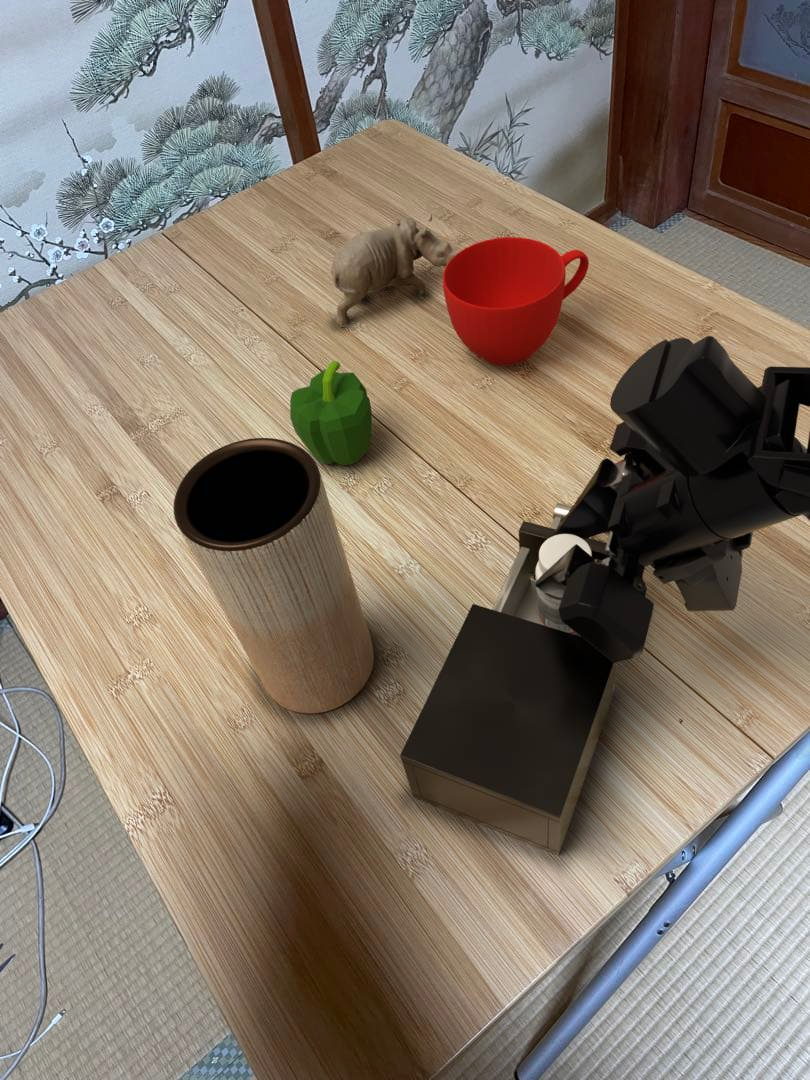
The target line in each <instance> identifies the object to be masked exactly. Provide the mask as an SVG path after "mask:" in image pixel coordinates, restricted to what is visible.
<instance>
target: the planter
mask: <svg viewBox="0 0 810 1080" xmlns="http://www.w3.org/2000/svg"><path fill="white" fill-rule="evenodd" d="M330 503H331V502H330V501H329V497H328V493H327V491H326V487H325V484H324V481H323V478H322V474H321V471H320V469H319V466H318V464H317V463H316V461H315V459H314V458H313V457H312V456H311V454H309V452H307V451H306V450H305V449H303V448H302V447H301V446H299V445H297V444H295V443H293V442H290V441H287V440H284V439H280V438H273V437H255V438H247V439H242V440H238V441H234V442H231V443H229V444H226V445H224V446H221V447H218V448H216V449H215V450H213V451H211V452H210V453H208V454H206V455H205V456H204V457H203V458H201V459H200V460H198V461H197V462H196V463H195V464H194V465H193V466H192V467H191V468H190V469H189V470H188V471H187V472H186V474H185V475H184V477H183V478H182V479H181V481H180V483H179V485H178V487H177V489H176V492H175V495H174V498H173V506H172V507H173V508H172V509H173V517H174V521H175V523H176V526H177V528H178V530H179V532H180V534H181V536H182V537H183V539H184V542H185V544H186V545H187V547H188V548H189V551H190V552H191V555H192V556H193V558H194V560H195V562H196V563H197V566H198V567H199V569H200V571H201V573H202V575H203V576H204V578H205V580H206V582H207V584H208V586H209V588H210V589H211V591H212V593H213V595H214V597H215V599H216V601H217V602H218V604H219V606H220V608H221V610H222V611H223V613H224V615H225V617H226V619H227V621H228V623H229V625H230V626H231V628H232V630H233V632H234V634H235V635H236V638H237V640H238V641H239V643H240V645H241V646H242V649H243V651H244V652H245V654H246V656H247V658H248V660H249V662H250V664H251V665H252V667H253V670H254V671H255V673H256V675H257V677H258V678H259V680H260V682H261V684H262V685H263V687H264V689H265V690H266V691H267V693H268V695H269V696H270V697H271V698H272V699H273V700H274V701H275V702H276V703H277V704H279V705H280V706H281V707H283V708H285V709H287V710H289V711H292V712H295V713H301V714H319V713H324V712H328V711H329V712H330V711H331V710H335V709H337V708H340V707H341V706H343V705H345V704H346V703H348V702H349V701H351V700H352V699H353V698H355V697H356V695H358V693H360V692H361V690H362V689H363V688H364V686H365V685H366V683H367V682H368V680H369V678H370V676H371V673H372V670H373V667H374V661H375V660H374V659H375V658H374V657H375V655H374V646H373V642H372V637H371V634H370V631H369V627H368V625H367V624H368V623H367V621H366V617H365V615H364V611H363V608H362V605H361V602H360V598H359V595H358V592H357V588H356V585H355V582H354V578H353V576H352V575H353V574H352V572H351V569H350V565H349V562H348V559H347V556H346V552H345V549H344V546H343V542H342V540H341V539H342V538H341V536H340V533H339V530H338V526H337V523H336V520H335V517H334V516H335V515H334V513H333V510H332V507H331V504H330Z"/></svg>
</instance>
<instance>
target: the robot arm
mask: <svg viewBox="0 0 810 1080" xmlns="http://www.w3.org/2000/svg"><path fill="white" fill-rule="evenodd" d="M609 403H610V404H609V406H610V409H611V411H612V412H613V413H615V415H616V416H617V417H619V418H620V420H622V422H620V423H618V424H617V425H616V427H615V430H614V433H613V436H612V440H611V443H610V446H609V450H611V451H612V452H613V453H614V454H615V455H617V456H618V457H623V456H624V457H623V459H622V460H619V461H617V462H614V461H612V460H611V459H610V458H608V457H607V458H604V459H603V458H602V460H601V461H600V462H599V465H598V467H597V469H596V470H595V472H594V473H593V475H592V477H591V478H590V479H589V481H588V482H587V484H586V486H585V487H584V489H583V491H581V493H580V494H579V496H578V497H577V499H576V501H575V502H574V503H573V505H571V506H572V508H571V509H570V510H569V512H568V513H567V515H566V516H565V517H564V519H563V520H562V522H561V523H560V525H559V526H558V527H557V529H556V530H555V532H554V533H553V535H552V537H553V536H555V535H559V534H571V535H575V536H578V537H580V538H582V539H583V540H584V539H587V538H593V537H596V536H598V535H602V534H604V533H605V532H608V531H610V534H609V535H608V537H607V541H606V543H607V544H606V548H605V550H606V552H607V554H609V555H610V556H611V557H612V558H611V557H608V558H606V559H603V560H602V561H601V560H600V559H594V558H593V557H591V556H590V555H589V554H588V553H587V552H586V551H584V550H583V549H582V548H581V547H580V546H579V545H577V544H576V545H574V546H573V547H572V548H571V549H570V550H569V551H568V552H566V553H565V554H564V555H563V556H562V557H561V558H560V559H559V560H558V561H557V562H556V563H555V564H553V565H552V566H551V567H550V568H549V569H548V570H547V571H546V572H545V573H544V574H543V575H542V576H541V577H540V578H539V579H538V580H537V581H536V580H535V582H536V584H535V585H536V587H537V588H539V589H540V590H541V591H542V592H544V593H550V594H558V595H563V596H562V600H561V603H560V606H559V609H558V610H559V613H560V617H561V620H562V622H563V623H565V624H566V625H567V626H568V627H570V628H571V629H572V630H573V631H575V632H576V633H577V634H578V635H580V636H581V637H582V638H583V639H585V640H586V641H587V642H588V643H590V644H591V645H592V646H593V647H595V648H596V649H597V650H598V651H600V652H601V653H602V654H603V655H605V656H606V657H607V658H608V659H610V660H611V661H612V662H613V663H617V664H618V663H620V662H624V661H628V660H633V659H636V658H639V657H642V656H643V655H644V652H645V647H646V643H647V640H648V634H649V630H650V627H651V623H652V617H653V613H654V608H655V603H654V602H653V601H652V600H650V599H649V598H648V597H647V596H646V595H647V590H648V589H647V584H646V582H645V580H644V578H643V576H644V572H645V570H646V569H645V568H646V567H649V566H650V567H651V568H652V569H653V573H652V574H653V576H654V577H655V578H656V579H657V580H658V581H660V582H661V583H662V584H663V585H666V584H670V583H672V582H674V583H675V584H676V587H677V588H678V591H679V593H680V594H681V597H682V598H683V600H684V607H685V609H686V610H687V611H688V612H689V613H690V612H724V611H725V612H727V611H731V612H732V611H734V610H735V609H736V608H737V602H738V598H739V597H738V596H739V590H740V585H741V579H742V573H743V563H742V562H743V555H744V550H747V549H748V548H750V547H751V545H752V541H753V536H754V535H753V534H754V532H756V531H759V530H762V529H765V528H768V527H771V526H774V525H776V524H780V523H782V522H785V521H788V520H791V519H794V518H797V517H800V516H803V517H805V518H806V519H807V520H808V521H809V522H810V430H809V432H808V440H807V447H806V446H805V445H804V444H803V443H802V442H801V441H800V440H799V439H798V437H796V431H797V424H798V417H799V411H800V410H799V409H800V405H802V406H805V407H808V408H810V367H806V366H772V365H771V366H768V367H766V368H765V369H764V372H763V377H762V382H761V385H760V386H758V387H757V386H756V384H754V383H753V382H752V381H751V380H750V378H749V377H747V376H746V374H745V373H744V372H743V371H742V370H741V369H740V368H739V367H738V366H737V365H736V364H735V363H734V362H733V360H732V359H731V358H730V355H729V353H728V352H727V350H726V349H725V348H724V346H723V345H722V344H721V343H720V342H719V341H718V340H717V339H716V338H715V337H714V336H713V335H707V336H705V337H703V338H701V339H700V340H697V341H696V342H695V343H693V342H692V340H691V339H689V338H687V337H677V338H674V339H671V340H668V339H663V340H661V341H660V342H658V343H656V344H655V345H653V346H652V347H651V348H648V349H647V350H646V351H645V352H644V353H643V354H642V355H641V356H639V357H638V358H637V359H636V360H635V361H634V362H633V363H632V364H631V365H630V366H629V368H627V369H626V371H625V372H624V373H623V374H622V376H621V377H620V379H619V380H618V382H617V383H616V385H615V387H614V389H613V391H612V393H611V396H610V401H609Z"/></svg>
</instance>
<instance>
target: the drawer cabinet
mask: <svg viewBox="0 0 810 1080" xmlns="http://www.w3.org/2000/svg"><path fill="white" fill-rule="evenodd" d="M492 609H493V608H492ZM492 609H491V608H488V607H486V606H481V605H479V604H475V603H472V604H471V606H470V608H469V610H468V612H467V615H466V617H465V619H464V621H463V623H462V626H461V627H460V629H459V631H458V633H457V635H456V638H455V640H454V642H453V644H452V645H451V648H450V650H449V652H448V654H447V657H446V659H445V661H444V663H443V664H442V667H441V669H440V671H439V673H438V675H437V677H436V679H435V681H434V684H433V686H432V687H431V690H430V692H429V694H428V696H427V699H426V700H425V703H424V704H423V707H422V709H421V710H420V713H419V715H418V717H417V719H416V721H415V723H414V725H413V728H412V729H411V732H410V734H409V736H408V738H407V740H406V742H405V744H404V747H403V748H402V751H401V753H400V755H399V757H400V760H401V763H402V766H403V769H404V773H405V775H406V779H407V781H408V785H409V789H410V790H411V791H410V792H411V794H412V797H413V798H415V799H417V800H419V801H422V802H424V803H426V804H429V805H432V806H435V807H436V808H439V809H442V810H444V811H446V812H449V813H452V814H454V815H457V816H458V817H462V818H464V819H467V820H468V821H471V822H474V823H476V824H478V825H482V826H484V827H486V828H489V829H491V830H494V831H496V832H498V833H501V834H503V835H506V836H509V837H511V838H513V839H516V840H519V841H522V842H523V843H526V844H529V845H531V846H533V847H536V848H538V849H541V850H544V851H545V852H548V853H551V854H553V855H556V856H559V855H560V853H561V850H562V847H563V845H564V841H565V839H566V835H567V832H568V829H569V826H570V823H571V820H572V817H573V815H574V812H575V810H576V809H575V808H576V806H577V803H578V799H579V797H580V795H581V791H582V789H583V785H584V782H585V780H586V776H587V773H588V770H589V768H590V766H591V762H592V758H593V756H594V753H595V750H596V748H597V745H598V741H599V739H600V736H601V732H602V729H603V727H604V723H605V721H606V718H607V716H608V715H607V714H608V711H609V709H610V706H611V703H612V700H613V696H614V689H615V680H616V673H617V666H618V662H617V663H613V662H612V661H611V660H610V659H608V658H607V657H606V656H605V655H603V654H602V653H601V652H600V651H598V650H597V649H596V648H595V647H593V646H592V645H591V644H590V643H588V642H587V641H586V640H585V639H583V638H582V637H580V636H577V635H574V634H571V633H567V632H564V631H561V630H557V629H554V628H551V627H548V626H544V625H541V624H538V623H534V622H531V621H528V620H525V619H521V618H518V617H515V616H511V615H508V614H505V613H502V612H498V611H495V610H492Z"/></svg>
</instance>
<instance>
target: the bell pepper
mask: <svg viewBox="0 0 810 1080" xmlns="http://www.w3.org/2000/svg"><path fill="white" fill-rule="evenodd" d="M340 368H341V363H340V362H339V361H338V360H332V362H329V364H328V365H327V367H326V369H324V370H322V371H320V372H319V373H318V374H316V375H314V376H313V377H312V378H311V379H310V382H309V386H305V387H301V388H297V389H295V390H293V391H292V392H291V395H290V400H289V404H290V405H289V408H290V409H289V411H290V412H289V415H290V416H289V417H290V421H291V424H292V427H293V429H294V432H295V434H296V435H297V437H298V438H299V440H300V441H301V442H302V443H303V445H304V447H306V449H308V451H309V452H310V453H311V454H312V456H313V457H314V458H315V459H316V460H317V461H319V462H321V463H322V464H326V465H331V464H333V463H336V464H338V465H341V466H342V465H344V466H352V465H353V464H354V463H356V462H359V461H360V460H362V458H364V456H365V454H366V453H367V452H368V450H369V449H370V447H371V444H372V443H371V442H372V435H373V434H372V433H373V432H372V431H373V430H372V429H373V411H372V405H371V401H370V397H369V396H368V393H367V392H368V391H367V389H366V387H365V386H364V385H363V383H362V382H361V380H360V379H359V377H358V376H357V375H356V374H355V372H352V371H351V372H338V371H339V369H340Z"/></svg>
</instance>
